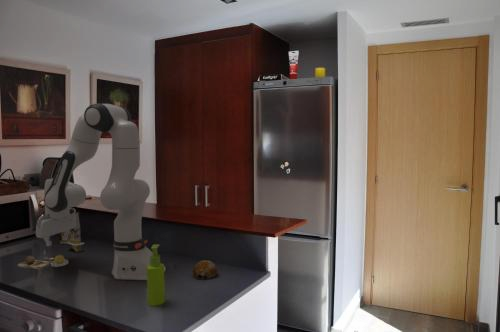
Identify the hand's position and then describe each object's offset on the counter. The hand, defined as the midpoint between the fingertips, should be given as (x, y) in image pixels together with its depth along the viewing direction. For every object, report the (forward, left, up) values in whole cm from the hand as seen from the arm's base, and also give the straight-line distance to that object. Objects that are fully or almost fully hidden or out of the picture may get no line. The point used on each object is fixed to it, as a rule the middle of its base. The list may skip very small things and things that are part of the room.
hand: (57, 242), depth 177 cm
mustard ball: (-1, 0, -10) cm, 10 cm away
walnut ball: (+11, +4, -10) cm, 16 cm away
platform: (+7, -18, -11) cm, 22 cm away
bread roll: (-70, -6, -10) cm, 71 cm away
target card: (+10, -5, -10) cm, 15 cm away
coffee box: (+21, -31, -10) cm, 39 cm away
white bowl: (-1, 0, -10) cm, 10 cm away
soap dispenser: (-64, +22, -10) cm, 68 cm away
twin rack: (+8, +4, -10) cm, 14 cm away
